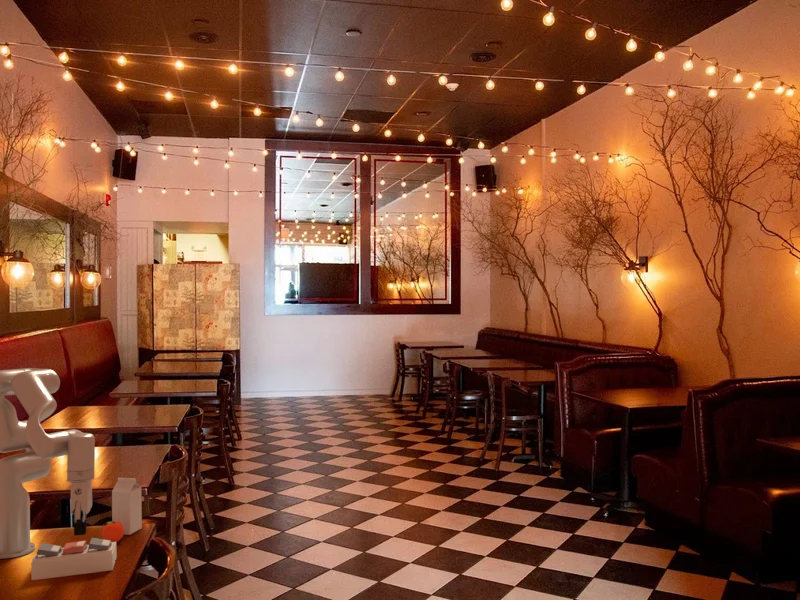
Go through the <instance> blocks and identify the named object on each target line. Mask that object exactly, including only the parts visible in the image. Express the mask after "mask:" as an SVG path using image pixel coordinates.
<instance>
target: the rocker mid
mask: <svg viewBox="0 0 800 600" xmlns="http://www.w3.org/2000/svg"><path fill="white" fill-rule="evenodd" d="M86 545H87V540H86V539H85V540H80V541H72V542H66V543H65V544H64V546H63V547H62V548H63V554H68V553H74V552H80V551H84V549H85V547H86Z"/></svg>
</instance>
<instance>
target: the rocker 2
mask: <svg viewBox="0 0 800 600" xmlns="http://www.w3.org/2000/svg"><path fill="white" fill-rule="evenodd" d="M110 542H111V540H105V539H104V538H97V537H91V539H90V542H89V544H88V545H89V547H88V548H89V549H97V550H108V548H109V546H110Z"/></svg>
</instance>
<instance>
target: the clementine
mask: <svg viewBox="0 0 800 600" xmlns="http://www.w3.org/2000/svg"><path fill="white" fill-rule="evenodd" d="M101 528H102V532H101V536H102V539H105V540H111V542H116V543H117V542H119V541H121V539H122V538H123V537H124V535H125V534H124V527H123V525H122V524H121V523H119V522H117V521H113V522H112V520H111V521H107V522H106V523H104V525H102V526H101Z"/></svg>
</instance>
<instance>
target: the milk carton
mask: <svg viewBox="0 0 800 600" xmlns="http://www.w3.org/2000/svg"><path fill="white" fill-rule="evenodd" d="M142 501H143V499H142V486H141V485H140V484H139V483H138V482H137V479H136V478H135V477H134V478H132V477H131V478H129V477H128V478H127V477H117V481H116V483H115V485H114V487H113V488H112V491H111V511H112V512H111V515H112V516H111V518H112V519H111V521H112V522H113V521H117V522H119V523H121V524H122V525H123V527H124V534H123V535H127V536H129V535H130V536H131V535H132V534H134V533H136V532H137V531H139V530H141V529H142V528H143V522H142V521H143V520H142V519H143V517H142V516H143V515H142V514H143V513H142V512H143V511H142V510H143V509H142Z"/></svg>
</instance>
